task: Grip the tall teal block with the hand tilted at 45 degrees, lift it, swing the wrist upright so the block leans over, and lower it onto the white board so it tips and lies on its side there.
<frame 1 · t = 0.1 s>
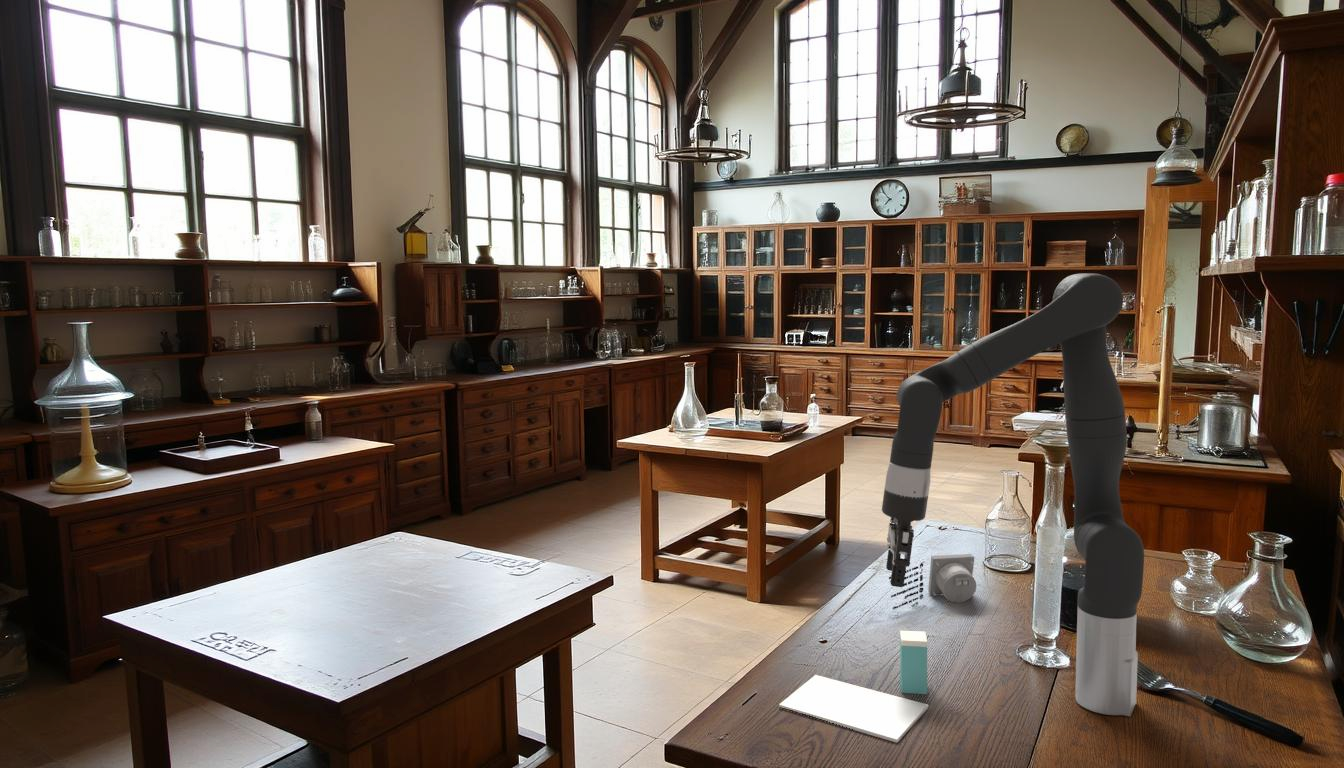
hand: (894, 577, 157), 22 cm above the lab bench, tool pointing down, fingers open, 8 cm apart
teal block: (913, 687, 163), on the lab bench
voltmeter: (931, 604, 204), on the lab bench
white board: (853, 707, 156), on the lab bench
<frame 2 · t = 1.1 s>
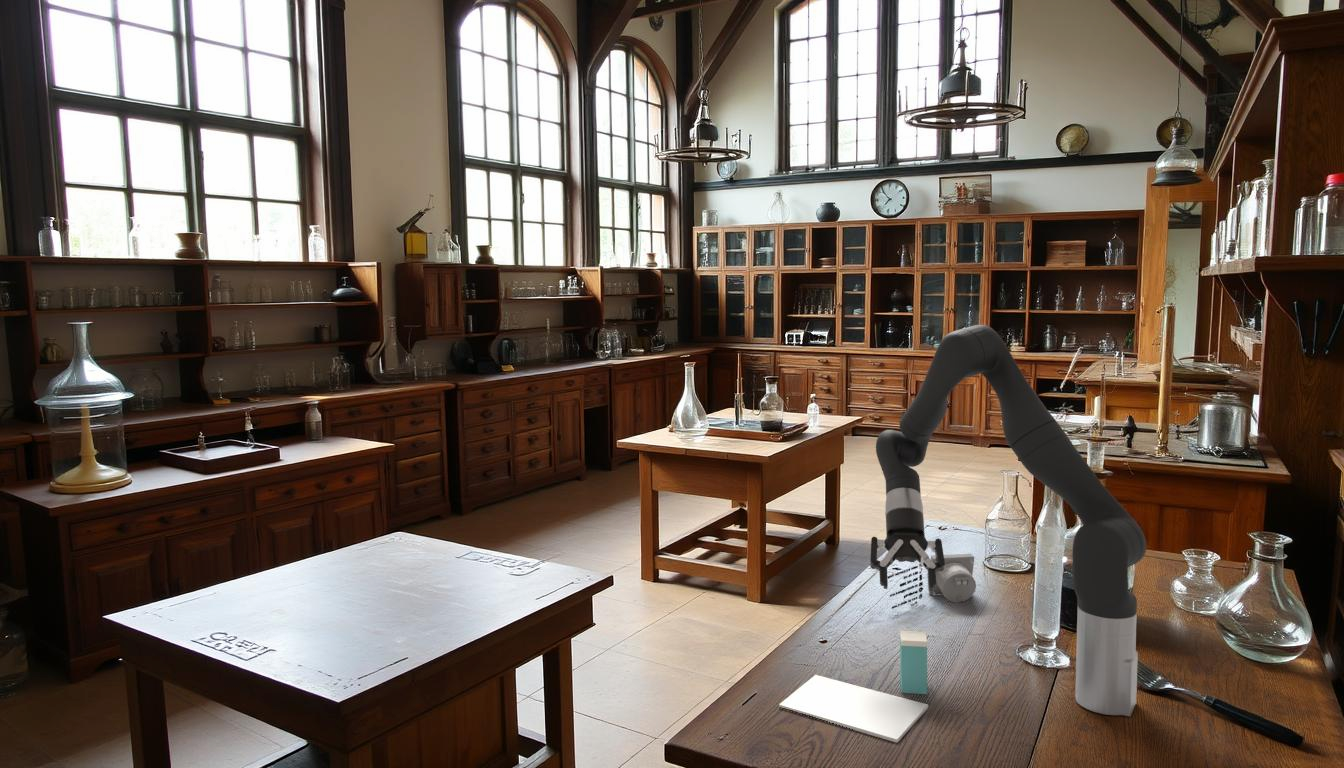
hand: (908, 588, 172), 15 cm above the lab bench, tool tilted 45°, fingers open, 8 cm apart
nothing on the lab bench moved.
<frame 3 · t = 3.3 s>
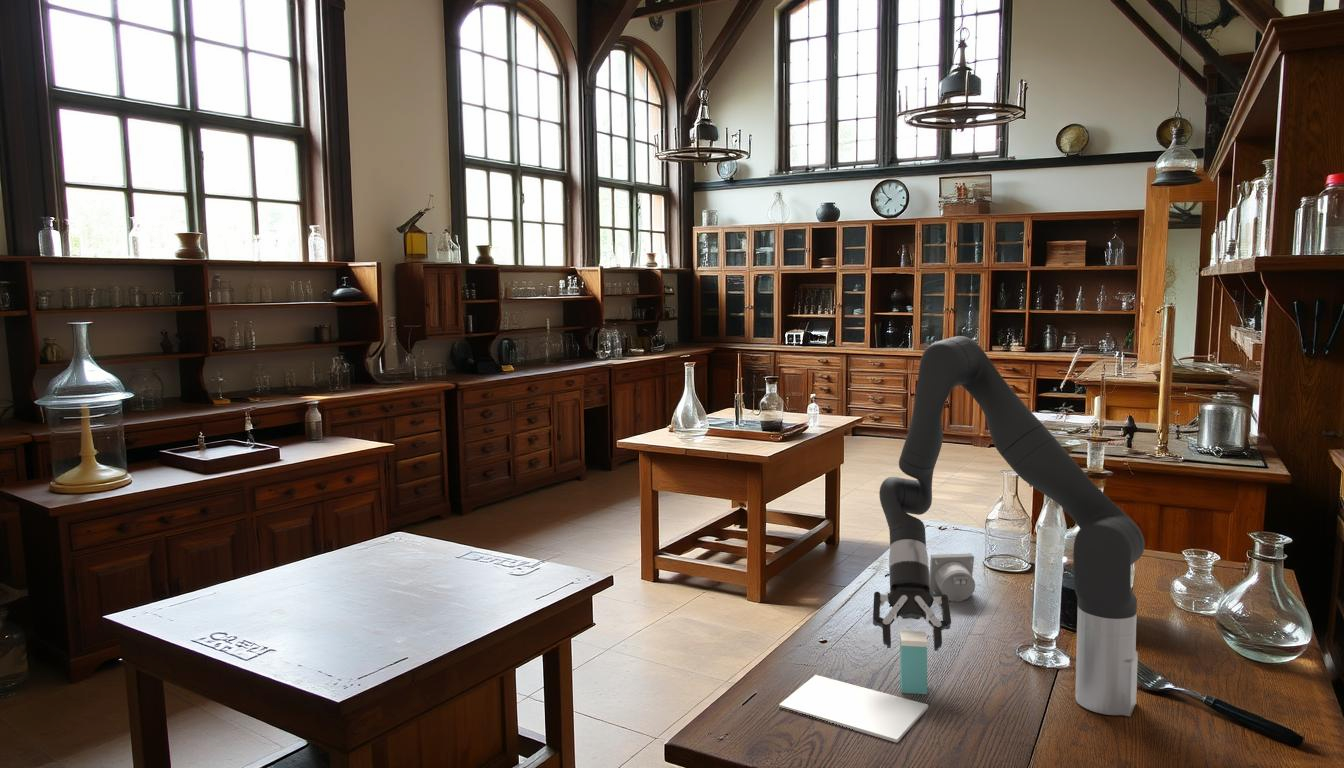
hand: (912, 647, 164), 7 cm above the lab bench, tool tilted 45°, fingers open, 8 cm apart
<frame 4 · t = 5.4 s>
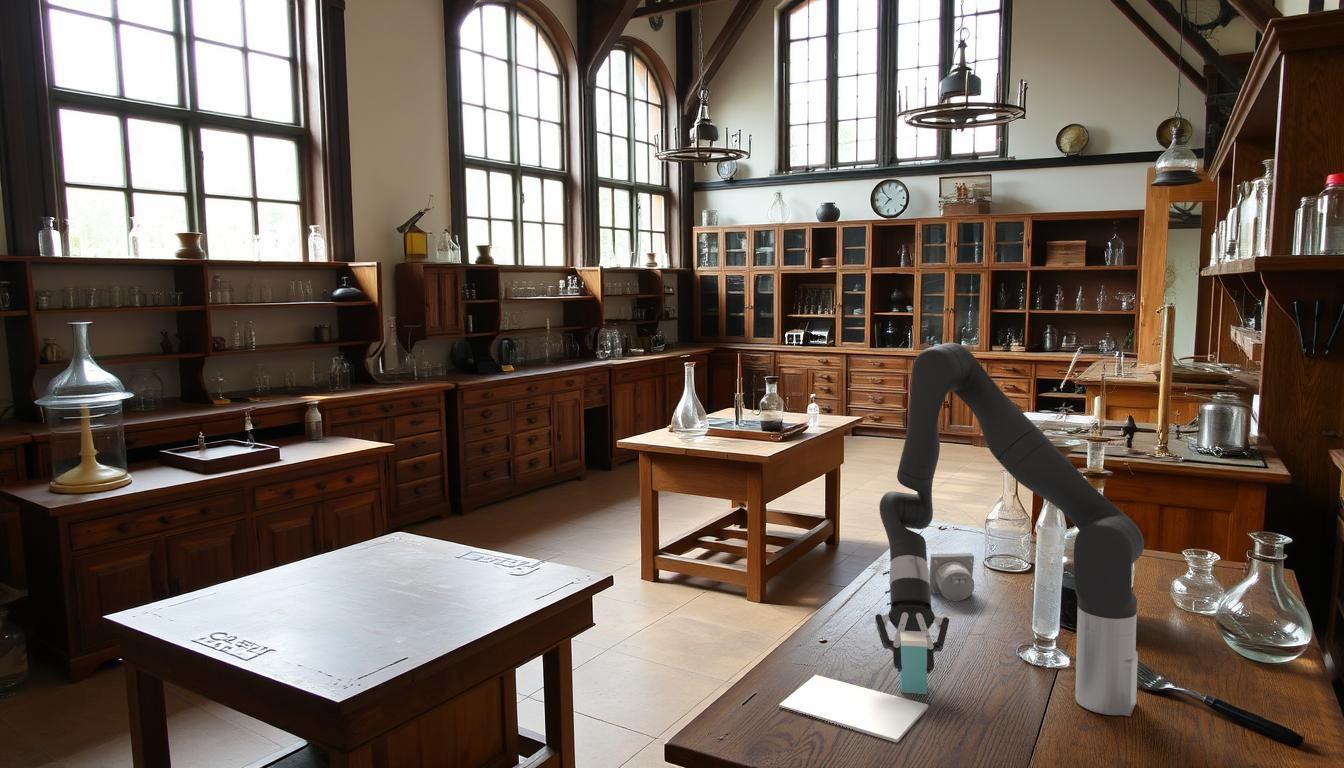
hand: (914, 670, 161), 4 cm above the lab bench, tool tilted 45°, fingers closed on teal block, 4 cm apart
teal block: (913, 687, 163), on the lab bench, touching gripper
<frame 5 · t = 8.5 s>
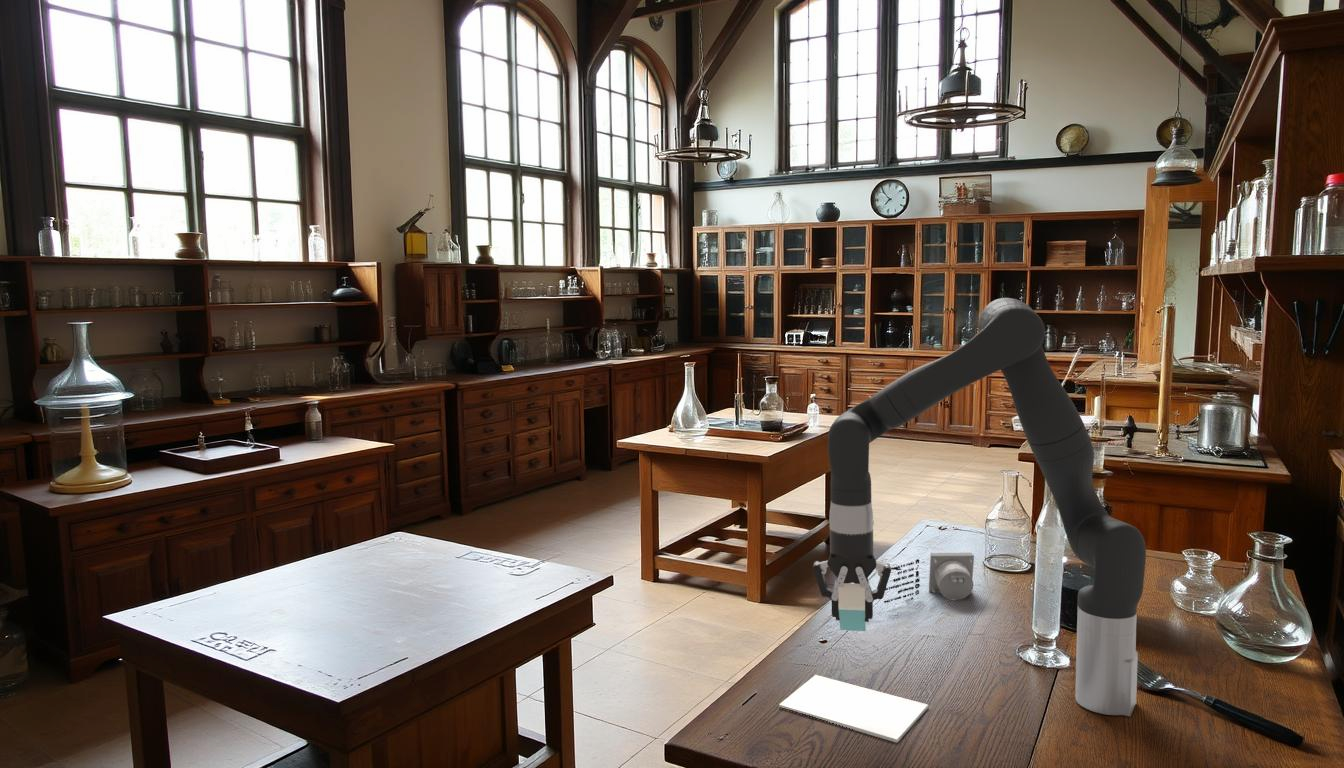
hand: (852, 619, 157), 15 cm above the lab bench, tool pointing down, fingers closed on teal block, 4 cm apart
teal block: (852, 618, 162), point 14 cm above the lab bench, tilted 45°, touching gripper
when the fingers open (5 cm above the lab bench, at t = 11.2 s): teal block moves 2 cm and tips over, resting on white board.
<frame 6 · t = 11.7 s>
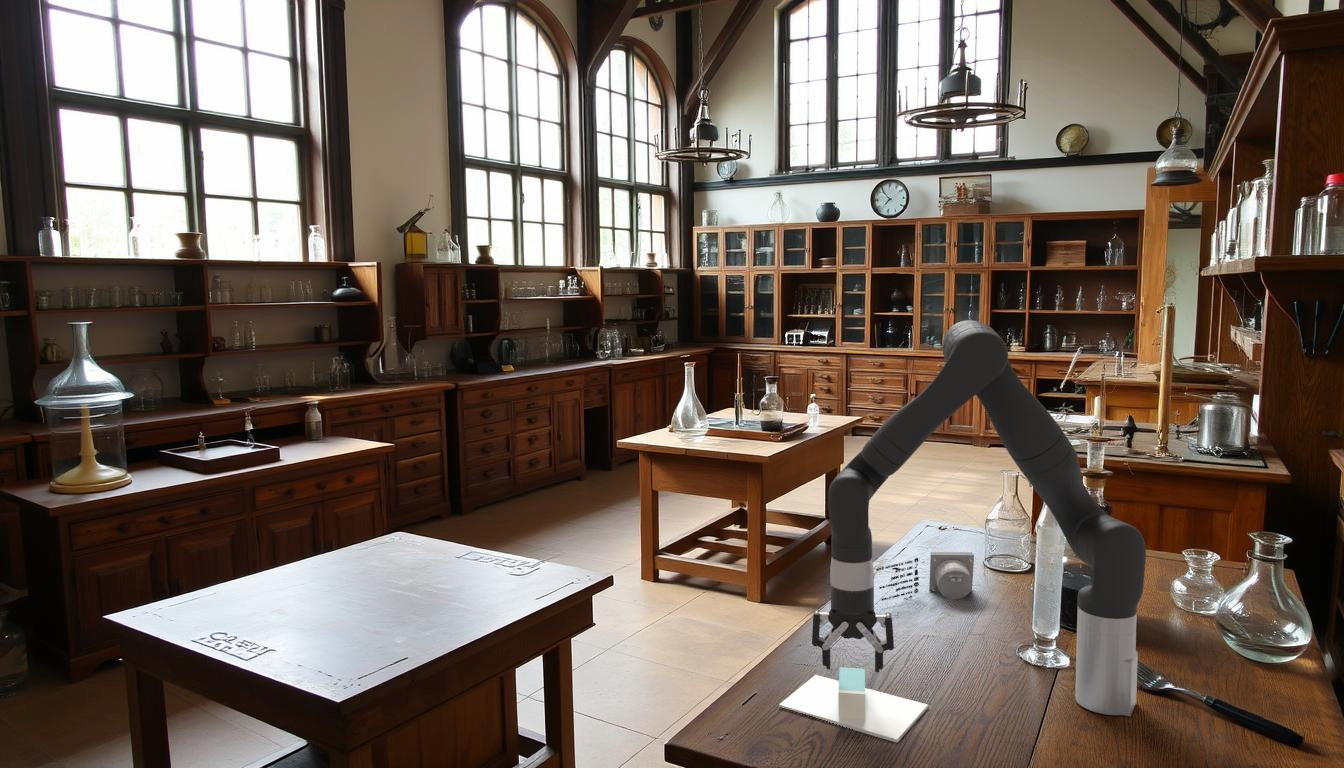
hand: (852, 669, 158), 6 cm above the lab bench, tool pointing down, fingers open, 8 cm apart
teal block: (852, 679, 161), point 3 cm above the lab bench, tilted 90°, touching white board
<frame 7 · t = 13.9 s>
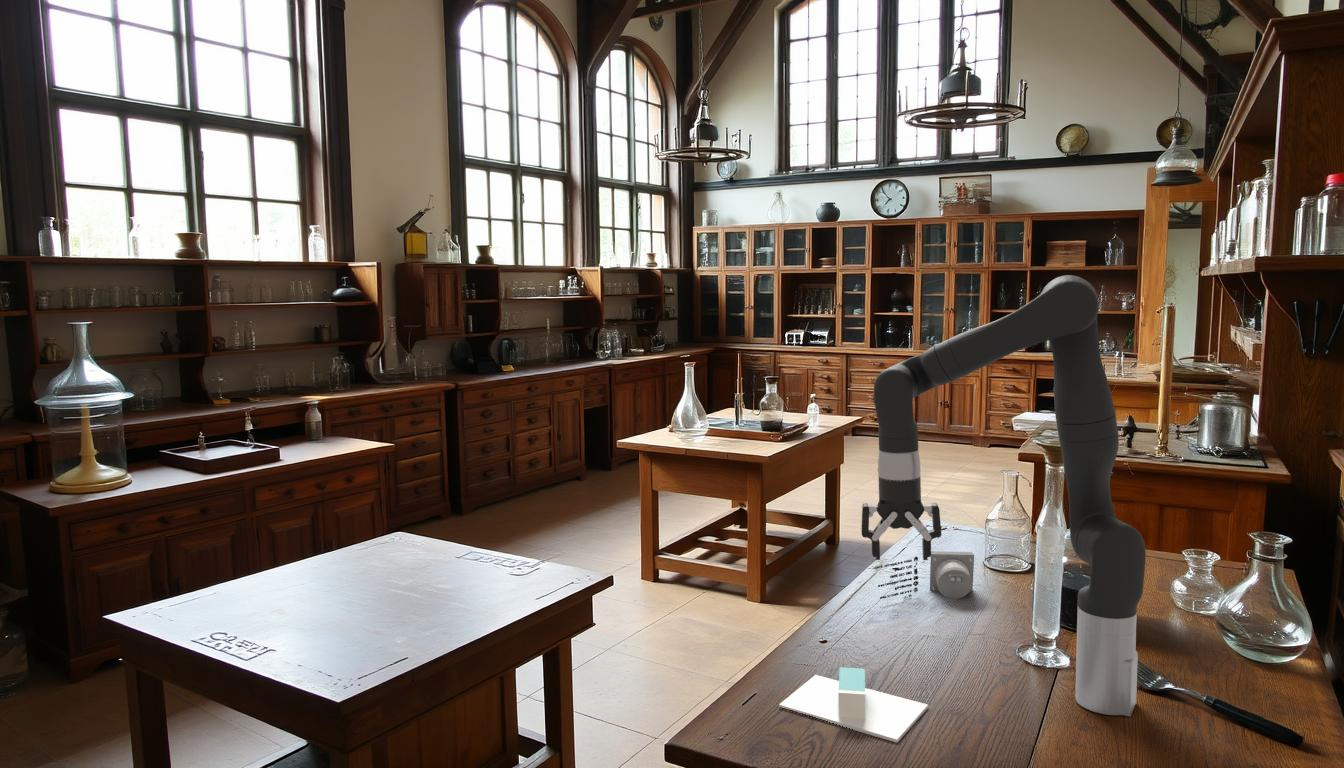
hand: (901, 558, 164), 23 cm above the lab bench, tool pointing down, fingers open, 8 cm apart
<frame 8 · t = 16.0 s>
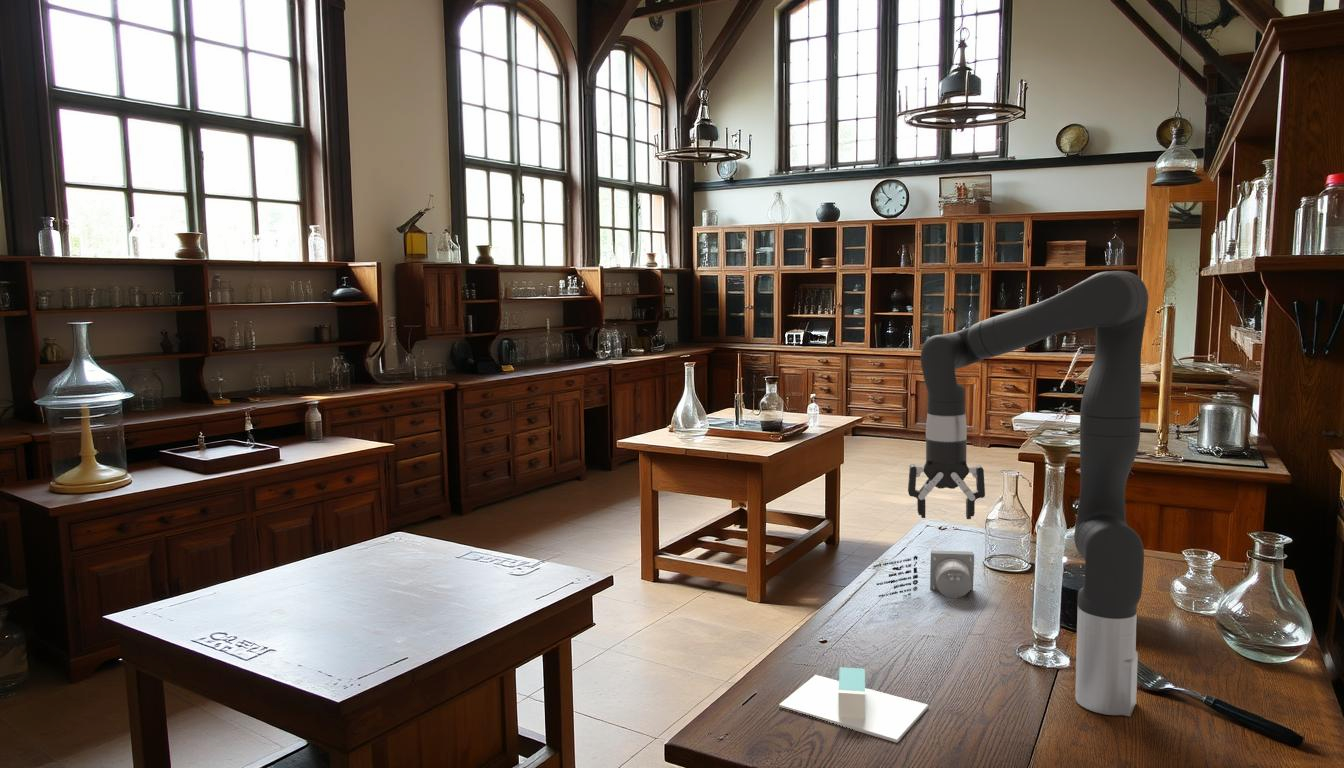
hand: (945, 517, 173), 28 cm above the lab bench, tool pointing down, fingers open, 8 cm apart
at the end: teal block tilted 90°; teal block touching white board; teal block 5.0 cm from the white board (horizontally) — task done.
